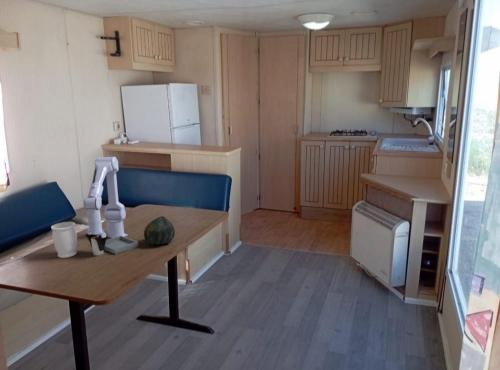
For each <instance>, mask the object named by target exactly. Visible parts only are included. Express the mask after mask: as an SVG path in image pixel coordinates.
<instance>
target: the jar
mask: <svg viewBox="0 0 500 370" xmlns="http://www.w3.org/2000/svg"><path fill="white" fill-rule="evenodd" d="M75 227H76V222H73V221H63V222H57V223H55V224H53V225H51V227H50V228H51V230H52V242H53V245H54V248H55V250H56V252H57V257H58V258H62V259H65V258H70V257H73V256H75V255H76V254H77V250H76V249H77V245H78V243H77V242H78V235H77V231H76V228H75Z"/></svg>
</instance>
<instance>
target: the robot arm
mask: <svg viewBox="0 0 500 370" xmlns="http://www.w3.org/2000/svg"><path fill="white" fill-rule="evenodd" d="M94 167H95V169H96V172H95V178H94V182H93V183H92V184H91V185H90V188H89V191H88V194H87V197H85V198H84V200H83V208H84V210H85V214H87V215H86V216H87V223H88V227H86V229H85V230H86V234H85V237H86V238H87V240H88V242H89V244H90V247H91V248H92V242H91V238H92V237H95V236H99V237H96V238H95V240H96V241H97V244H98V247H99V251H103V250H104V248H105V243H106V240H108V238H109V239H112V238H115V237H118V236H124V237H127V236H129V235H128V233H125V230H124V229H125V228H124V220H125V219H126V215H127V214H126V213H127V211H126V209H125V205H124V204H123V203H121V202H120V201H119V193H118V180H117V172H119V159H117V157H116V156H100V157H99V156H97V157H96V158H95V160H94ZM105 178H106V185H107V189H106V190H107V196H108V198H107V200H108V203H107V204H106V205H105V207H104V213H103V216H104V219H105V220H106V223H105V229H106V232H105V231H104V229H103V225H102V218H101V216H102V215H101V207H102V204H103V203H102V199H103V198H102V195H103V191H104V186H103V182H104V180H105ZM104 251H105V250H104Z"/></svg>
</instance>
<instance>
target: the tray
mask: <svg viewBox="0 0 500 370" xmlns="http://www.w3.org/2000/svg"><path fill="white" fill-rule="evenodd" d="M138 247H139V241H137V240H135V239H131V238H129V237H127V236H118V237H115V238H109V239H107V240H106V243H105V248H104V252H105V251H106V252H108V253H110V254H112V255H117V254H121V253H124V252H127V251H129V250H132V249H135V248H138Z"/></svg>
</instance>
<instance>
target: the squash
mask: <svg viewBox="0 0 500 370" xmlns="http://www.w3.org/2000/svg"><path fill="white" fill-rule="evenodd" d="M175 231H176V230H175V227H174V225H173V223H172V222H171V221H170V220H169V219H168V218H167V217H165V216H159V217H156V218H155V219H152V220H151V221H149V223H147V225H146V226H145V228H144V231H143V237H144V240H145V241H146V243H148V244H150V245H152V246H154V245H155V246H156V245H158V246H159V245H164V244H165V245H169V244H170V243H171V242H172V241H173V239H174V238H175V233H176V232H175Z"/></svg>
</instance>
